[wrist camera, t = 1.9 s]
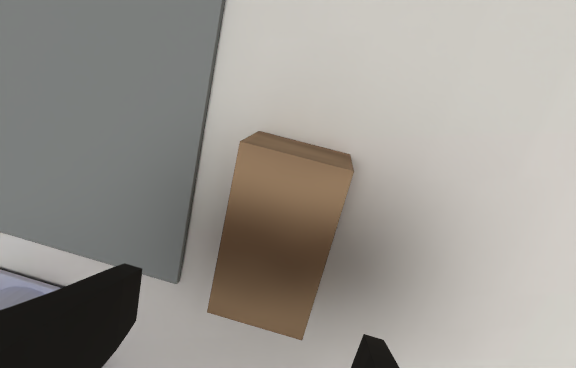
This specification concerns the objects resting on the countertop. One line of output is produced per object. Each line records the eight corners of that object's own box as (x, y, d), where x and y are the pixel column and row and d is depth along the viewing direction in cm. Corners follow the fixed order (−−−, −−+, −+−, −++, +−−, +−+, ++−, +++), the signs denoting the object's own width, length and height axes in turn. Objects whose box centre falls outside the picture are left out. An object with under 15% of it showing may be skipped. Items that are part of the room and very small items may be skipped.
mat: (179, 280, 21) (176, 284, 21) (-35, 217, 22) (-42, 219, 22) (239, -88, 15) (236, -93, 15) (-58, -155, 16) (-68, -160, 16)
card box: (308, 293, 20) (302, 340, 17) (230, 271, 21) (207, 312, 17) (349, 153, 18) (353, 171, 14) (260, 130, 18) (239, 141, 14)
